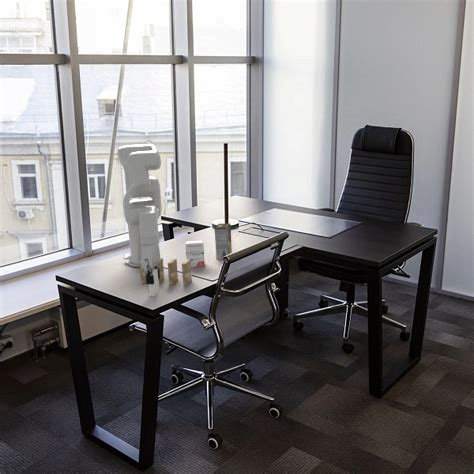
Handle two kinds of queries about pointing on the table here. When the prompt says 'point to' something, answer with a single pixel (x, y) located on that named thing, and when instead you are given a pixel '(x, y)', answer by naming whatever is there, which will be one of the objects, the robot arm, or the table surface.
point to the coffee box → (223, 240)
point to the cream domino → (154, 287)
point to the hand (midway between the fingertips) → (153, 280)
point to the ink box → (195, 253)
